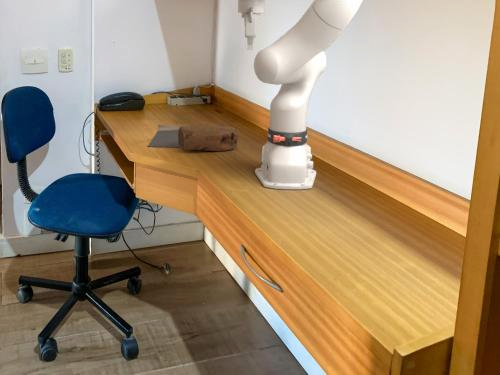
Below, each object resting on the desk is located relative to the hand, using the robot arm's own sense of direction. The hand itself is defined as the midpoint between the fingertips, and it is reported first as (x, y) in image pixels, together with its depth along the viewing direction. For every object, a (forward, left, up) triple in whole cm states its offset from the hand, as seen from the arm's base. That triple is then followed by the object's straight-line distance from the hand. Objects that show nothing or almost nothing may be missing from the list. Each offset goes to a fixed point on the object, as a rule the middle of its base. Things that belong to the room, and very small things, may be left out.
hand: (250, 49), depth 205 cm
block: (-8, +23, -30) cm, 38 cm away
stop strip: (+21, +26, -34) cm, 48 cm away
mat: (+8, +26, -34) cm, 44 cm away
